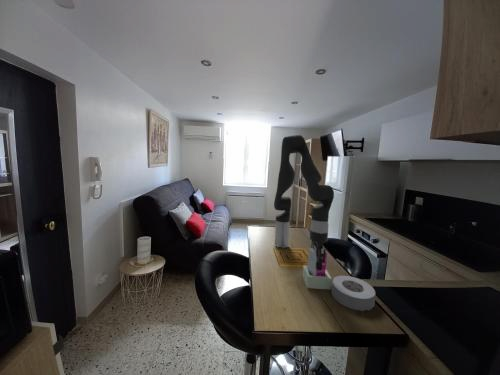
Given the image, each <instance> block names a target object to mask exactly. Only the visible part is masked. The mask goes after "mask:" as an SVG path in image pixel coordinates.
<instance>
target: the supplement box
mask: <svg viewBox="0 0 500 375" xmlns="http://www.w3.org/2000/svg"><path fill="white" fill-rule="evenodd" d="M316 254H319V253H315V249H314V248H311V247H310V248H308V258H307V266H308V268H307V270H308V272H309V274H310V275H311V276H325V271H326V270H327V269H326V267H327V257H328V252H327V251H326V252H325V263H323V262H322V270H317V269H316V264H317V256H316ZM320 259H321V257H320Z"/></svg>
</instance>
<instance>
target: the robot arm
mask: <svg viewBox="0 0 500 375" xmlns="http://www.w3.org/2000/svg"><path fill="white" fill-rule="evenodd" d="M280 149H281V153H280V155H281V156H280V164H279V171H278V177H277V184H276V186H277V187H276V192H275V196H274V201H273V202H274V203H273V207H274V210H276V211H279V212H280V211H281V212H282V211H283V212H282V213H280V214H277V215H276V216H275V227H274V228H275V229H274V230H275V231H274V246H275V245H276V246H277V247H276V246H275V247H276V248H278V247H282V248H281V249H286V247H287V248H288V247H289V244H290V243H289V242H290V241H289V240H290V222H291V210H292V198H291V197H290V196H283V195H284V194H285V193H286V192H287V191H288V190H289V189H290V188H291V187H292V185H294V181H295V176H296V172H295V170H294V167H293V165H292V164H291V162H290V156H291V154H298V153H299V154H300V156H301V162H300V171H301V175H302V176H303V177H302V178H304V180H305V182H306V187H307V188H306V189H307V193H308V196H309V198H310V199H311V200H312V201H314V202H318V204H317V205H315V206H313V207H312V209H311V219H310V220H311V221H310V225H309V226H310V227H309V240H311V246H310V248H314V249H315V253H319V254H316V256H317V264H316V269H317V270H322V262H323V263H325V252H327V251H326V248H325V246H324V244H325V243H327V242H328V238H329V237H328V236H329V217H330V216H329V214H330V209H331V207H332V203H333V200H334V197H335V192H334V188H333V187H332V186H331V185H329V184H320V182H321V181H322V175H321V174H320V172H319V170H318V169H317V166H316V165H315V163H314V161H313V159H312V156H311V153H310V150H309V148H308V144H307V142H306V139H305V138H304V136H303V135H300V134H294V135H286V136H284V137H283V138H282V142H281V148H280ZM320 257H321V259H320Z"/></svg>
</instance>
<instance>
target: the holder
mask: <svg viewBox="0 0 500 375" xmlns="http://www.w3.org/2000/svg"><path fill="white" fill-rule="evenodd" d="M307 268H308V265H302V278H303V281H304V283H305V287H306V288H307V289H317V290H329V291H332V282H333V279H332V277H331V275H330V274H329V271H328V270H327V269H326V271H325V276H311V275H310V274H309V272H308V270H307Z"/></svg>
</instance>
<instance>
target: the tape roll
mask: <svg viewBox="0 0 500 375" xmlns="http://www.w3.org/2000/svg"><path fill="white" fill-rule="evenodd" d="M376 295H377V294H376V290H375V289H374V287H373V286H372V285H370V283H368V282H366V281H365V280H362V279H360V278H358V277H353V276H349V275H337V276H335V277H334V278H333V279H332V281H331V296H332V297H333V299H334V300H336V301H337V302H338V303H339V304H340V305H342V306H345V307H347V308H349V309H352V310H354V311H359V310H360V311H361V312H365V311H364V310H368V311H371V310H373V309H374V308H375V304H376ZM373 307H374V308H373ZM372 308H373V309H372ZM370 309H371V310H370Z"/></svg>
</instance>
